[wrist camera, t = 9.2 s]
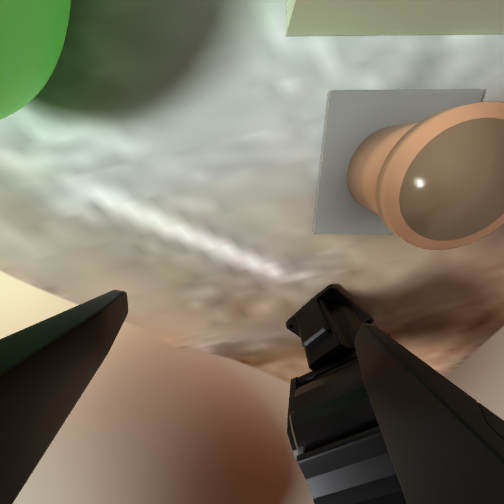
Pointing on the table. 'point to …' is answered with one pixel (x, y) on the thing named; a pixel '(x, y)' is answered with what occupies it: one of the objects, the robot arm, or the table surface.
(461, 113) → the terracotta pot
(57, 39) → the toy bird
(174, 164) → the table surface
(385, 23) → the pale green square tray
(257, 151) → the table surface
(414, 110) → the slate pad
